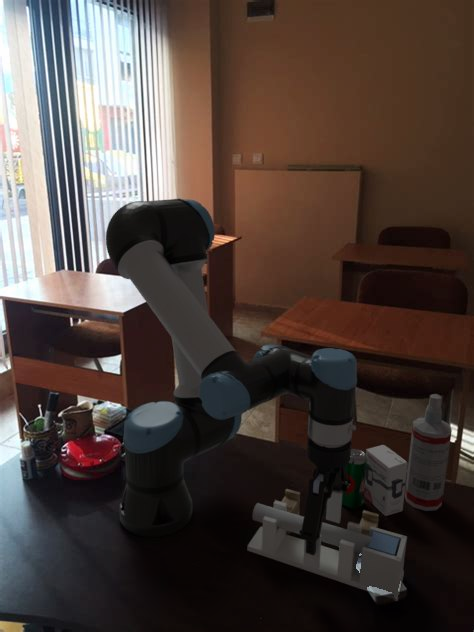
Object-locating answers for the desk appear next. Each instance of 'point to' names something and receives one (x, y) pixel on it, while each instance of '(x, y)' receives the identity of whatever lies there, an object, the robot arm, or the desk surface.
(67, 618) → the desk surface
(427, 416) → the white nozzle bottle
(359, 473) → the soda can
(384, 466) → the ink box
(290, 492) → the clamp blocks
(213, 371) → the robot arm
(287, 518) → the grey rod with block
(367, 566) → the clip rail
